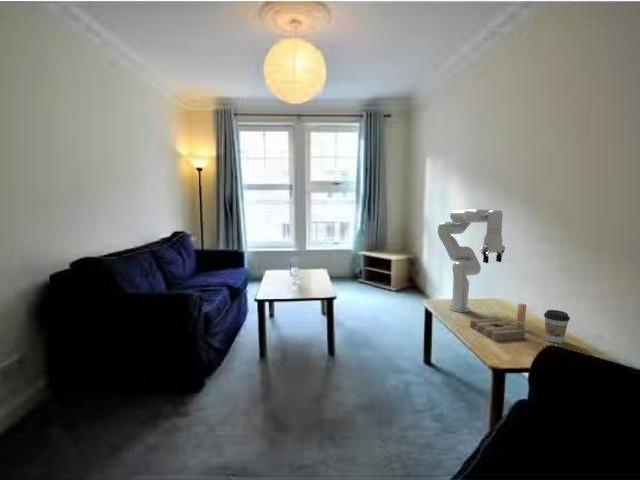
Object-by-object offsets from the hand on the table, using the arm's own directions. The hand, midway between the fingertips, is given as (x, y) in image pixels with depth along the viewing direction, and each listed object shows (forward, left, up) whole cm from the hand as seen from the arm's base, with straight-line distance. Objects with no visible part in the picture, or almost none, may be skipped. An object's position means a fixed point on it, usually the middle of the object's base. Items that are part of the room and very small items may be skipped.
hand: (492, 262), depth 216 cm
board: (+14, -5, -36) cm, 39 cm away
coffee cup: (+30, +17, -36) cm, 50 cm away
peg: (+12, +12, -36) cm, 40 cm away
